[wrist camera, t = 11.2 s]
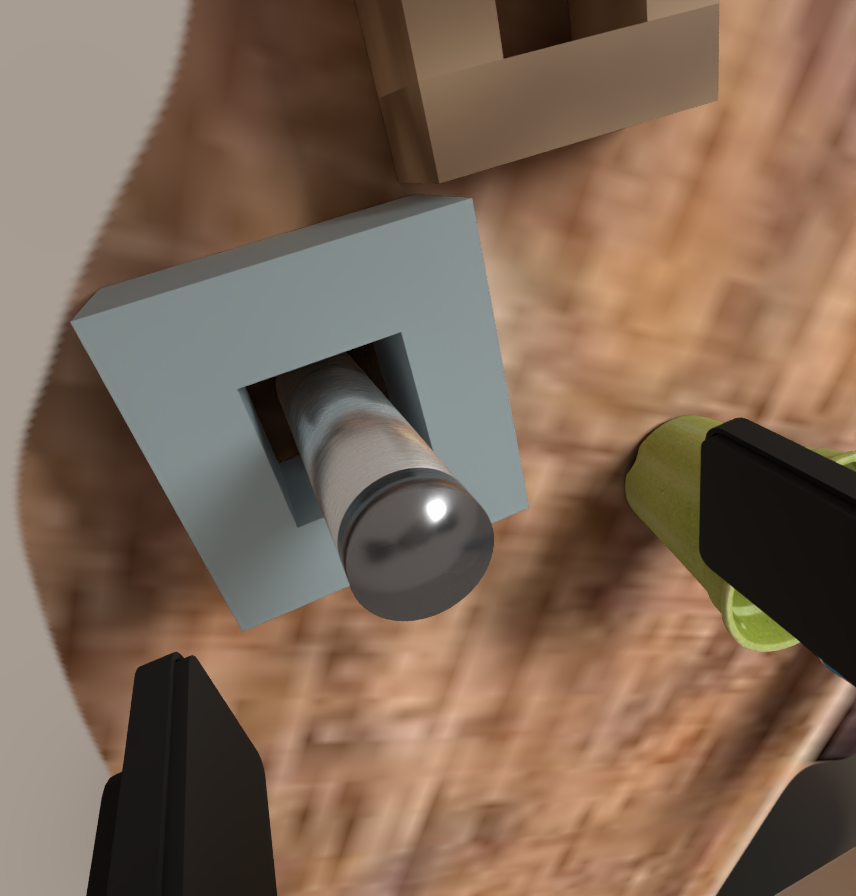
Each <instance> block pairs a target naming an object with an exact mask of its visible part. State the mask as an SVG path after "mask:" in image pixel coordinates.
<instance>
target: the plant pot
mask: <svg viewBox="0 0 856 896" xmlns="http://www.w3.org/2000/svg"><path fill="white" fill-rule="evenodd" d="M721 424H723V423H722V422H719V421H716V420H713V419H710V418H707V417H701V416H693V415H686V416H681V417H677V418H674V419H672V420H670V421H668V422H666V423H664V424H663V425H661V426H660V427H658V428H657V429H656V430H655V431H653V432H652V433H651V434H650V435H649V436H648V437H647V438H646V439H645V440H644V441H643V443H642V444H641V445H640V447H639V449H638V455H637V458H636V461H635V463H634V465H633V467H632V468H631V469H630V471H629V472H628V473H627V475H626V481H625V492H626V499H627V501H628V503H629V505H630V507H631V508H632V510H633V511H634V512H635V513H636V515H637V516H638V517H639V518H640V519H641V520H642V521H643V522H644V523H645V524H646V525H647V526H648V527H649V528H650V529H651V530H652V532H653V533H654V534H655V535H656V536H657V537H658V538H659V539H660V540H661V541H662V542H663V543H664V544H665V546H666V547H667V548H668V549H669V550H670V551H671V552H672V553H673V554H674V555H675V556H676V557H677V558H678V559H679V561H680V562H681V563H682V564H683V565H684V566H685V567H686V568H687V569H688V570H689V572H690V573H691V574H692V575H693V576H694V577H695V578H696V579H697V580H698V582H699V583H700V584H701V585H702V586H703V587H704V588H705V589H706V591H707V592H708V595H709V597H710V599H711V601H712V603H713V604H714V606H715V607H716V608H717V609H718V610H719V611H720V612H721V614H722V619H723V622H724V625H725V627H726V629H727V631H728V633H729V634H730V635H731V636H732V638H733V639H734V640H735V641H736V642H738V643H739V644H740V645H741V646H743V647H744V648H746V649H750V650H754V651H760V652H770V651H777V650H781V649H785V648H787V647H790V646H793V645H795V644H797V643H800V642H799V641H798V640H797V639H796V638H795V637H793V636H792V635H791V634H790V633H788V632H787V631H786V630H785V629H783V628H782V627H781V626H780V625H779V624H777V623H776V622H775V621H774V620H772V619H771V618H770V617H769V616H768V615H766V614H765V613H764V612H763V611H761V610H760V609H759V608H758V607H756V606H755V605H754V604H753V603H752V602H750V601H749V600H748V599H747V598H745V597H744V596H743V595H742V594H740V593H739V592H738V591H737V590H736V589H734V588H733V587H732V586H731V585H729V584H728V583H727V582H726V581H725V580H723V579H722V578H721V577H720V576H718V575H717V574H716V573H715V572H713V571H712V570H711V569H710V568H709V567H708V566H707V565H706V564H705V563H704V561H703V560H702V558H701V555H700V552H699V517H700V464H701V444H702V442H703V441H704V440H705V438H706V434H707V432H708V430H710V429H712V428H713V427H716V426H718V425H721ZM801 446H802V445H801ZM804 447H805V446H804ZM806 448H808V449H810V450H812V451H814V452H816V453H818V454H820V455H822V456H824V457H826V458H828V459H830V460H833V461H835V462H837V463H839V464H841V465H843V466H845V467H847V468H849V469H851V470H853V471H855V472H856V451H851V452H846V453H845V452H841V451H837V450H833V449H812V448H809V447H806Z"/></svg>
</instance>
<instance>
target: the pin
mask: <svg viewBox="0 0 856 896" xmlns="http://www.w3.org/2000/svg"><path fill="white" fill-rule="evenodd" d="M276 391H277V395H278V398H279V401H280V403H281V406H282V408H283V411H284V414H285V416H286V419H287V422H288V424H289V427H290V429H291V432H292V435H293V437H294V440H295V443H296V445H297V448H298V451H299V453H300V456H301V458H302V461H303V464H304V466H305V469H306V472H307V474H308V477H309V479H310V482H311V485H312V487H313V490H314V493H315V495H316V498H317V500H318V503H319V506H320V508H321V511H322V514H323V516H324V519H325V522H326V524H327V527H328V529H329V532H330V535H331V537H332V540H333V543H334V545H335V548H336V550H337V553H338V556H339V558H340V561H341V564H342V566H343V569H344V571H345V574H346V577H347V579H348V582H349V585H350V587H351V590H352V592H353V594H354V596H355V597H356V599H357V600H358V601H359V603H360V604H361V605H362V606H363V607H364V608H365V609H367V610H368V611H370V612H371V613H373V614H375V615H377V616H379V617H382V618H385V619H389V620H395V621H414V620H419V619H424V618H428V617H431V616H434V615H436V614H439V613H441V612H443V611H445V610H447V609H449V608H450V607H452V606H454V605H455V604H457V603H458V602H459V601H461V600H462V599H463V598H464V597H465V596H467V595H468V594H469V593H470V592H471V591H472V590H473V588H474V587H475V586H476V585H477V584H478V582H479V581H480V579H481V578H482V577H483V575H484V573H485V571H486V569H487V567H488V565H489V562H490V560H491V556H492V552H493V546H494V534H493V528H492V524H491V521H490V519H489V517H488V515H487V513H486V512H485V510H484V509H483V508H482V506H481V505H480V504H479V503H478V502H477V501H476V500H475V498H474V497H473V496H472V495H471V494H470V493H469V492H468V490H467V489H466V488H465V487H464V486H463V485H462V484H461V482H460V481H459V480H458V479H457V478H456V477H455V476H454V474H453V473H452V472H451V471H450V470H449V469H448V468H447V466H446V465H445V464H444V463H443V462H442V461H441V459H440V458H439V457H438V456H437V455H436V454H435V453H434V451H433V450H432V449H431V448H430V447H429V446H428V445H427V443H426V442H425V441H424V440H423V439H422V438H421V437H420V435H419V434H418V433H417V432H416V431H415V430H414V429H413V427H412V426H411V425H410V424H409V423H408V422H407V421H406V419H405V418H404V417H403V416H402V415H401V414H400V413H399V411H398V410H397V409H396V408H395V407H394V406H393V405H392V403H391V402H390V401H389V400H388V399H387V398H386V397H385V395H384V394H383V393H382V392H381V391H380V390H379V389H378V387H377V386H376V385H375V384H374V383H373V382H372V381H371V379H370V378H369V377H368V376H367V375H366V374H365V373H364V371H363V370H362V369H361V368H360V367H359V366H358V365H357V363H356V362H355V361H354V360H353V359H352V358H351V356H350V355H349V354H348V353H347V352H342V353H339V354H337V355H334V356H331V357H328V358H325V359H322V360H319V361H317V362H314V363H311V364H308V365H305V366H302V367H299V368H297V369H294V370H291V371H288V372H285V373H282V374H279V375H277V377H276Z"/></svg>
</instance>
